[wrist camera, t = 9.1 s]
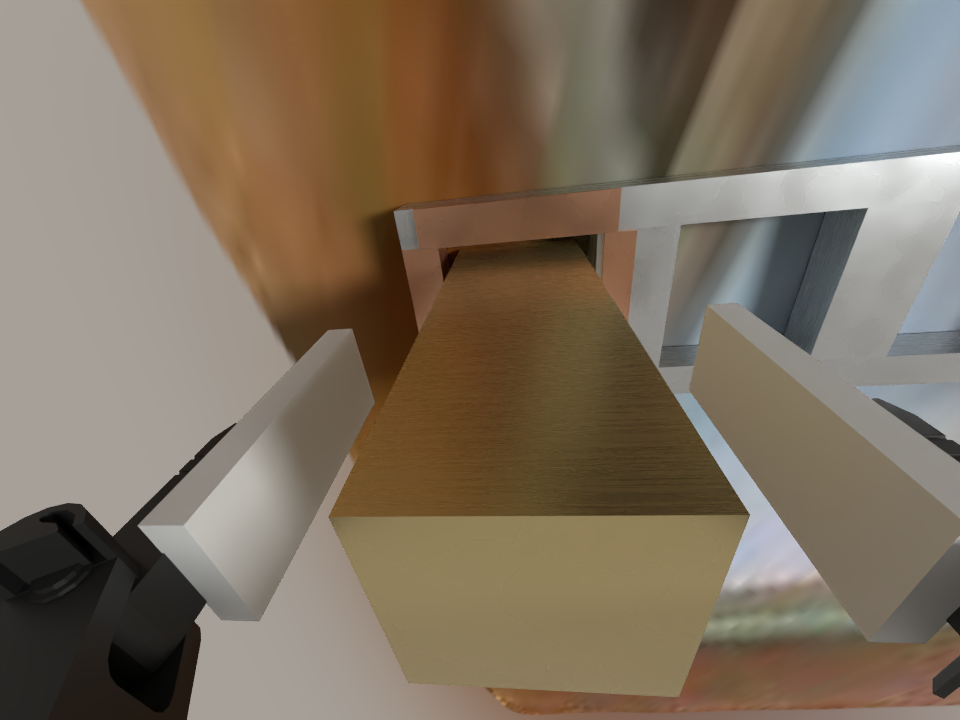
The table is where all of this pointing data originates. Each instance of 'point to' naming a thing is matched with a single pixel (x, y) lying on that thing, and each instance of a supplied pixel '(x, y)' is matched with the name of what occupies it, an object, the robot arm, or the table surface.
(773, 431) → the robot arm
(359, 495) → the brass post
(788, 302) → the table surface
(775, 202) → the triple square frame
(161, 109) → the table surface
